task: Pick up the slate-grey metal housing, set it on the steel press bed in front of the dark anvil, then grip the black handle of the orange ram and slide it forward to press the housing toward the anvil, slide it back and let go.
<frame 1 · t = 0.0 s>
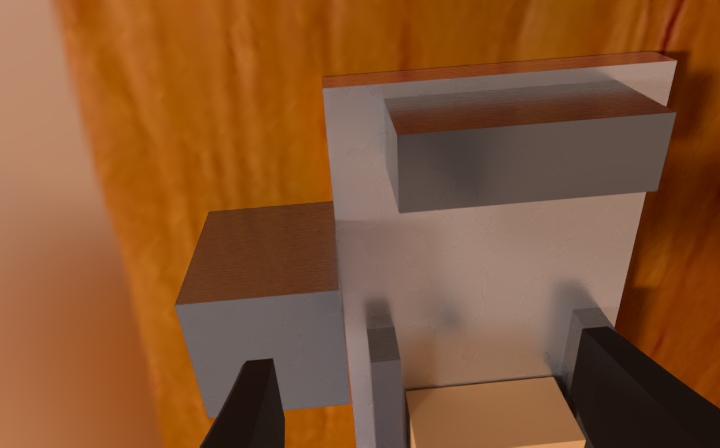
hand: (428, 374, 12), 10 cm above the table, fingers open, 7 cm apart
housing: (280, 257, 23), on the table
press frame: (475, 292, 24), on the table
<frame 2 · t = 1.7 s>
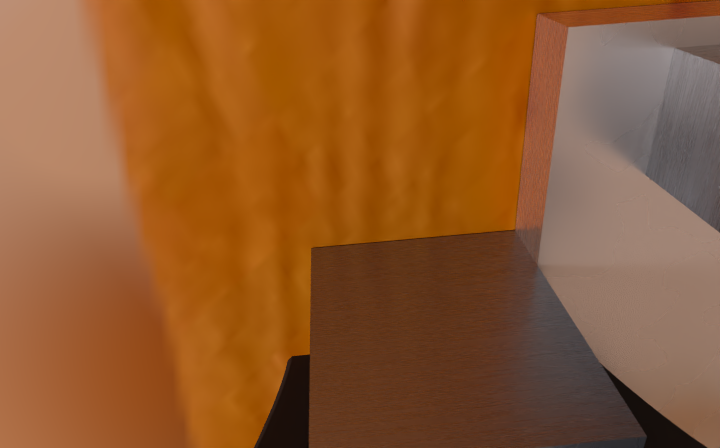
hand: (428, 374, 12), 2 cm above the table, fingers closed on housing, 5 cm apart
housing: (414, 318, 14), on the table, touching gripper
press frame: (698, 363, 16), on the table
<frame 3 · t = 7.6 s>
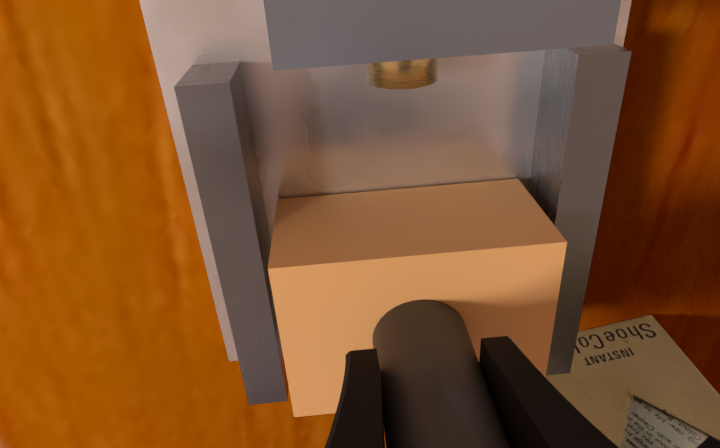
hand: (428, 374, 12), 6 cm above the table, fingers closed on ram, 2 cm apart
shoe polish box: (587, 369, 22), on the table
ram: (424, 357, 13), point 6 cm above the table, slide at 0.0 cm, touching gripper
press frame: (387, 28, 15), on the table
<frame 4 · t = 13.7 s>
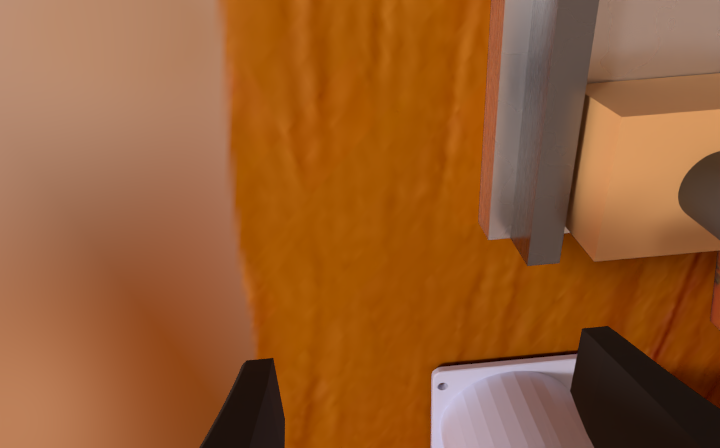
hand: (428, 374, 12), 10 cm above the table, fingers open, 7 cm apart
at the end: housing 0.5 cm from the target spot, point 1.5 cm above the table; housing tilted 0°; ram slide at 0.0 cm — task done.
